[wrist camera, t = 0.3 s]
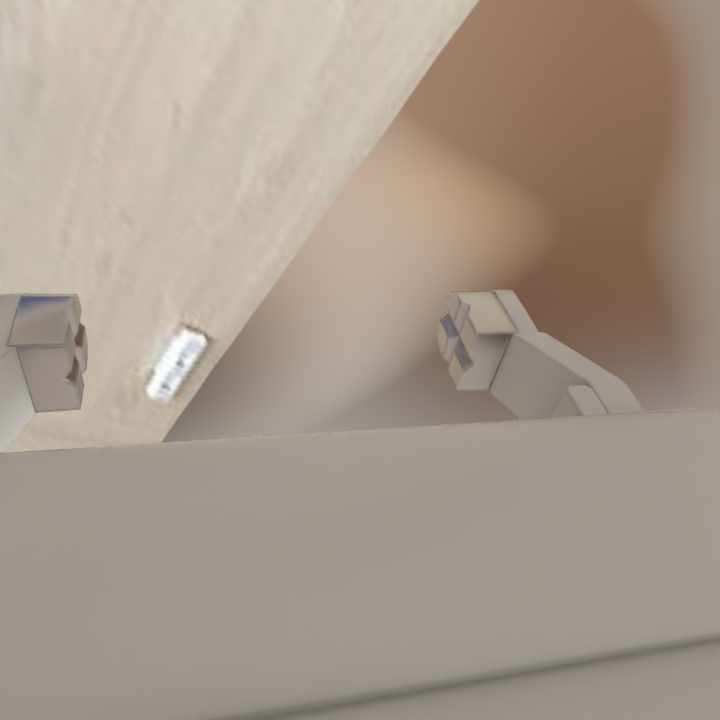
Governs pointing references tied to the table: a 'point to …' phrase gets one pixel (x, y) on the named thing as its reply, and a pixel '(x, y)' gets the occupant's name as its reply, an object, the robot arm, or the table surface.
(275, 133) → the table surface
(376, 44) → the table surface
